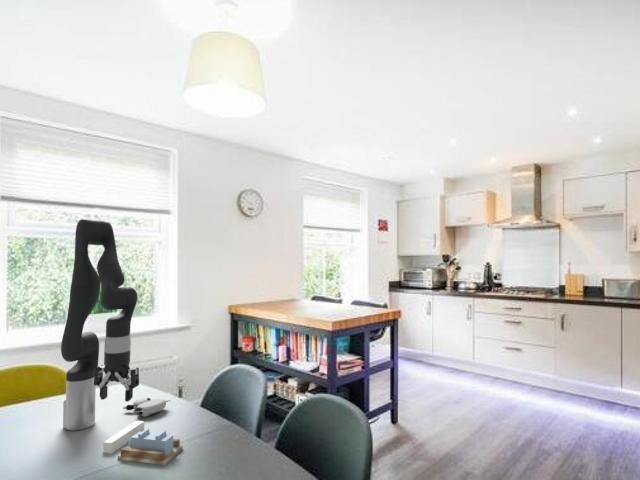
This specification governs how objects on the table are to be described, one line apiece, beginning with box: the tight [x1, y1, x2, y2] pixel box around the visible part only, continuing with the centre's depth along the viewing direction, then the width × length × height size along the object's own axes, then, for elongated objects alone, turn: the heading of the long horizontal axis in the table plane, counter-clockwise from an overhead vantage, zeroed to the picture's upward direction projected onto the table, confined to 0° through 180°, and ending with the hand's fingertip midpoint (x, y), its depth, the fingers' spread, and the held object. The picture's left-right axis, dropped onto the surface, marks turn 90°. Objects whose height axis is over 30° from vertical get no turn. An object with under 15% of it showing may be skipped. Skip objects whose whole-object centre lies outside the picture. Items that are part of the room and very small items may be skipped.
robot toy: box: [122, 397, 171, 418], centre depth 153 cm, size 12×4×15 cm
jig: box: [117, 438, 184, 466], centre depth 121 cm, size 16×10×3 cm, turn 78°
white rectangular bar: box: [102, 420, 145, 454], centre depth 130 cm, size 3×16×4 cm, turn 168°
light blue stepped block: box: [127, 428, 174, 456], centre depth 121 cm, size 14×4×6 cm, turn 78°
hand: (115, 399), depth 125 cm, fingers open, 8 cm apart
